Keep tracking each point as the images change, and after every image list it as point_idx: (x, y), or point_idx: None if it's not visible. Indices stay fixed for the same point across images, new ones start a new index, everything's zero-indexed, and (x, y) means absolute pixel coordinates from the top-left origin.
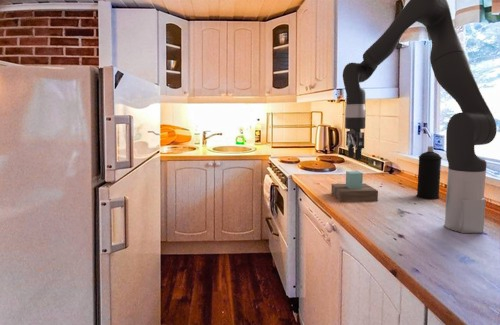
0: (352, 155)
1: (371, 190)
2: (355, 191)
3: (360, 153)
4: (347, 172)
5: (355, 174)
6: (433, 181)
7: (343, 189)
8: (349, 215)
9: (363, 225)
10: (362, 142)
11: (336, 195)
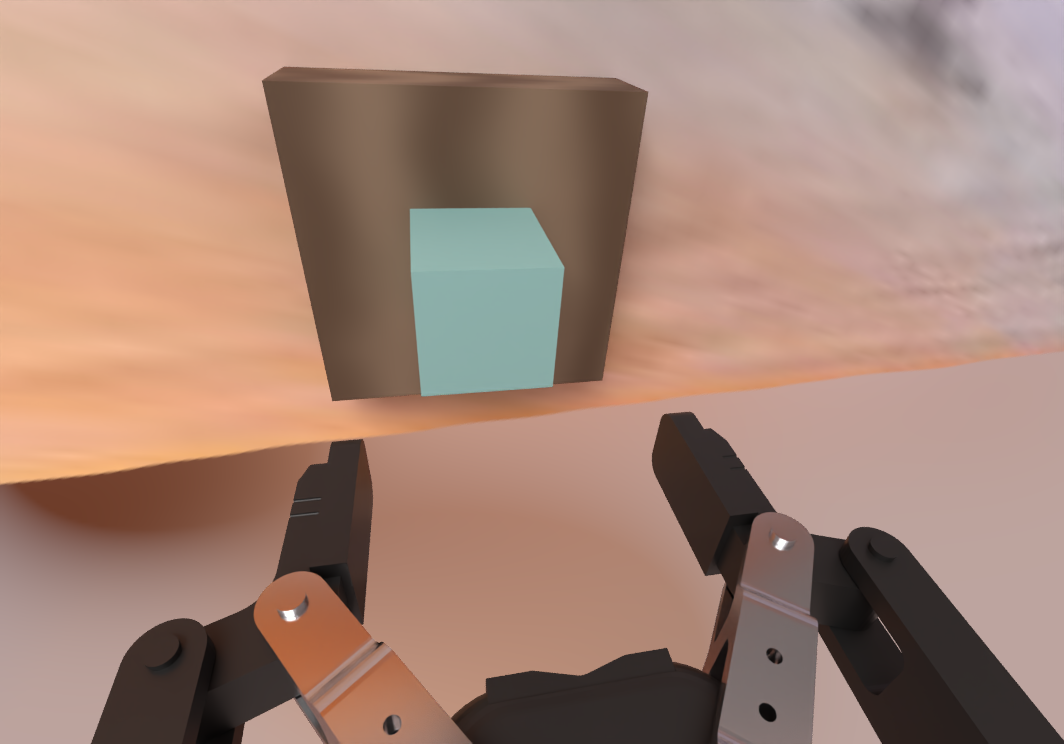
0: (362, 467)
1: (621, 152)
2: (615, 290)
3: (750, 483)
4: (472, 391)
5: (555, 333)
6: None
7: None
8: (823, 353)
9: (957, 333)
10: (931, 641)
11: None
